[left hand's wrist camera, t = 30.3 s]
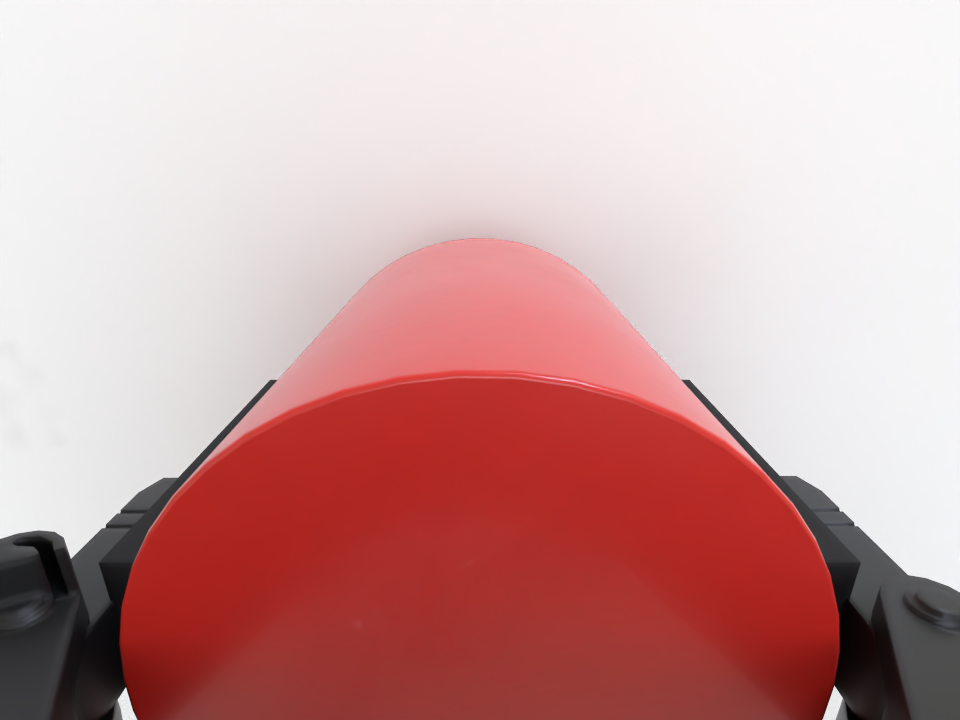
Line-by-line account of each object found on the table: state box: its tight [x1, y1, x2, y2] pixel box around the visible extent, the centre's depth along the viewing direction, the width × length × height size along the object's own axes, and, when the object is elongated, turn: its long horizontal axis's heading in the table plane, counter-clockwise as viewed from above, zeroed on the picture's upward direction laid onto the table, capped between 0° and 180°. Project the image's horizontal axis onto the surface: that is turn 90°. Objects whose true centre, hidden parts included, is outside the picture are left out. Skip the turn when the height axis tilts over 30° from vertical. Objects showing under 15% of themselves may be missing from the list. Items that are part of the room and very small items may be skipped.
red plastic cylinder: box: [119, 238, 840, 720], centre depth 11 cm, size 9×9×9 cm
